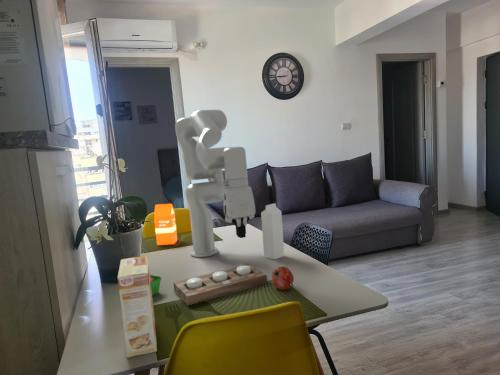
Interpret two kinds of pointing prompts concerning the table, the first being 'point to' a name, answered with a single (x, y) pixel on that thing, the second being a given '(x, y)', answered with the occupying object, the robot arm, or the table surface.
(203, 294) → the button board
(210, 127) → the robot arm
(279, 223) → the milk
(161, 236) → the orange juice
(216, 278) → the button middle
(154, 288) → the fruit basket
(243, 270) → the button end
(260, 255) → the table surface
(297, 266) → the table surface
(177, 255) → the table surface
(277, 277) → the pomegranate
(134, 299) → the coffeecake box
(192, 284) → the button end
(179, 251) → the table surface
